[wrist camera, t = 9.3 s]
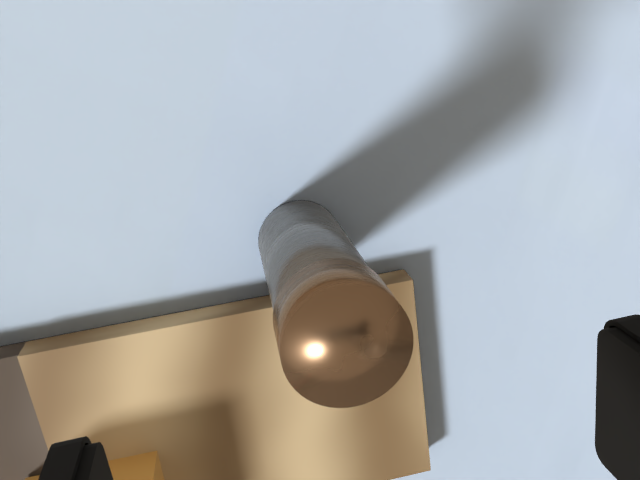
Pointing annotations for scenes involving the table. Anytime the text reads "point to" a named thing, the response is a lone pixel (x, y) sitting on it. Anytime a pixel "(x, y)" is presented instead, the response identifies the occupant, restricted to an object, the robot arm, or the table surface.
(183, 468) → the board
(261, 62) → the table surface
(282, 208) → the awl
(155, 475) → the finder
